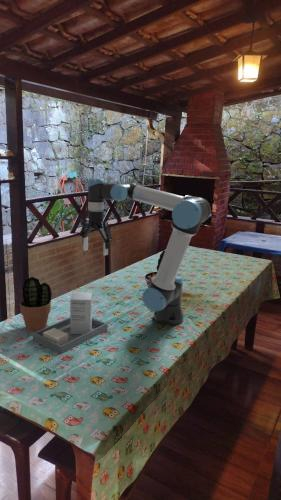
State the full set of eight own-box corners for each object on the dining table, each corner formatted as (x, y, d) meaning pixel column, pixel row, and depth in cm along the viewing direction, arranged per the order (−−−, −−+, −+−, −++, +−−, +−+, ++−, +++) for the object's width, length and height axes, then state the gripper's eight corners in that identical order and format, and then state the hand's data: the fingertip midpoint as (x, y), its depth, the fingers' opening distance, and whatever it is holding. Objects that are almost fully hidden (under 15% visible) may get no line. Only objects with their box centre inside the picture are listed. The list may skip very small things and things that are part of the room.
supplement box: (72, 325, 172) (72, 291, 168) (92, 325, 173) (92, 291, 169) (70, 334, 163) (69, 299, 159) (90, 334, 164) (91, 299, 159)
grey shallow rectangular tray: (107, 331, 169) (107, 323, 168) (61, 355, 147) (61, 346, 146) (79, 320, 180) (79, 312, 179) (32, 341, 157) (32, 333, 156)
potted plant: (35, 338, 161) (33, 284, 154) (14, 329, 167) (12, 277, 161) (57, 327, 172) (56, 276, 166) (37, 319, 179) (35, 270, 173)
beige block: (68, 342, 156) (68, 334, 155) (57, 348, 151) (57, 339, 150) (54, 336, 161) (54, 327, 160) (43, 341, 156) (43, 332, 155)
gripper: (120, 212, 174) (119, 255, 179) (83, 207, 188) (82, 247, 193) (110, 214, 168) (109, 258, 173) (72, 208, 182) (72, 249, 187)
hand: (95, 252), depth 183 cm, fingers open, 13 cm apart
